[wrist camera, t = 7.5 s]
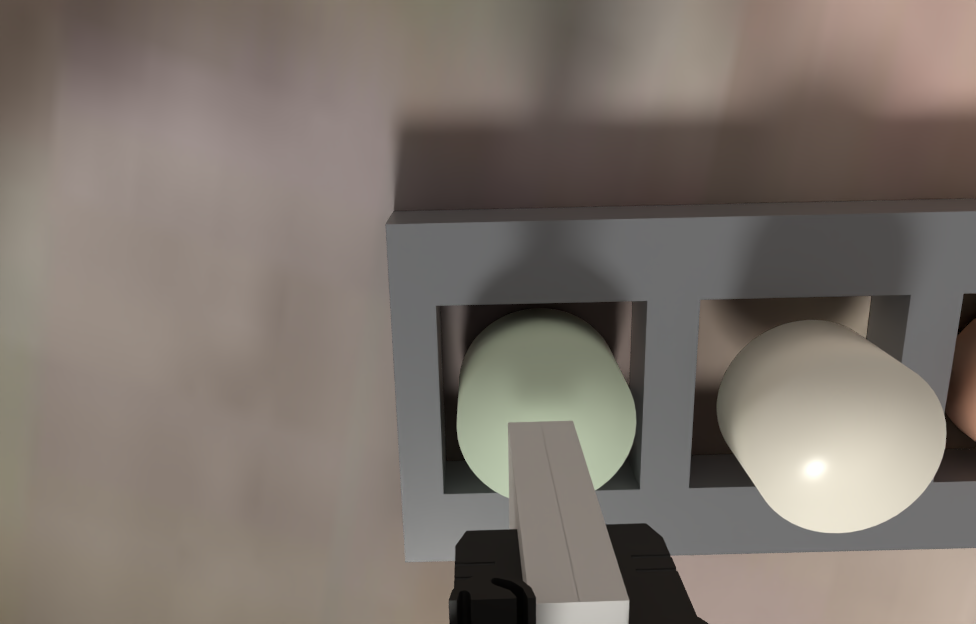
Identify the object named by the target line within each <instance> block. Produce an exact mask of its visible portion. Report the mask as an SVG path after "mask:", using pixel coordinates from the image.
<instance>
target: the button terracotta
mask: <svg viewBox="0 0 976 624" xmlns="http://www.w3.org/2000/svg"><path fill="white" fill-rule="evenodd" d="M945 411H946V413H947V415H948V417H949V418H950V420H951V421H952V422H953V423H954V424H955V426H957V427H958V428H959V429H960V430H961V431H962V432H964V433H965V434H966V435H968V436H969V437H970V438H972V439H973V440H974V441H976V318H975V319H974V320H973V321H972V322H971V323H969V324H968V325H967V326H966V327H965V328H964V329H963V330H962V332H961V333H960V334H959V335H958V336H957V338H956V344H955V350H954V357H953V363H952V369H951V375H950V381H949V388H948V394H947V400H946V406H945Z"/></svg>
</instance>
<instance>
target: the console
mask: <svg viewBox="0 0 976 624" xmlns="http://www.w3.org/2000/svg"><path fill="white" fill-rule="evenodd" d="M386 241H387V258H388V275H389V292H390V309H391V326H392V343H393V360H394V377H395V394H396V411H397V428H398V445H399V462H400V479H401V496H402V513H403V531H404V548H405V562H432V561H455V546H456V544H457V543H458V542H459V540H460V539H461V537H462V536H463V535H464V533H465V532H466V531H472V530H504V529H510V528H509V498H507V497H505V496H502V495H501V494H499V493H497V492H495V491H494V490H492V489H491V488H489V487H488V486H487V485H485V484H484V483H483V482H482V481H481V480H480V479H479V478H478V477H477V476H476V475H475V474H474V472H473V471H472V470H471V468H470V467H469V465H468V464H467V462H466V461H446V442H445V416H444V391H443V366H442V341H441V315H440V306H446V305H489V304H533V303H576V302H620V301H632V330H631V359H630V388H629V389H630V391H631V394H632V397H633V400H634V404H635V410H636V430H635V436H634V440H633V444H632V447H631V449H630V452H629V454H628V456H627V458H626V459H625V461H624V463H623V465H622V466H621V467H620V468H619V470H618V471H617V472H616V473H615V475H614V476H613V477H612V478H611V479H610V480H609V481H607V482H606V483H605V484H604V485H602V486H601V487H600V488H598V489H597V490H595V493H596V496H597V499H598V502H599V505H600V509H601V512H602V515H603V518H604V521H605V524H634V523H647V524H648V525H649V526H650V527H651V528H652V529H654V530H655V531H656V532H657V533H658V534H659V535H661V536H662V537H663V539H664V541H665V543H666V546H667V548H668V550H669V553H670V556H671V555H711V554H751V553H791V552H831V551H871V550H911V549H951V548H976V448H971V449H945V450H944V454H943V458H942V460H941V463H940V466H939V468H938V470H937V472H936V474H935V476H934V478H933V479H932V481H931V482H930V484H929V485H928V487H927V488H926V489H925V491H924V492H923V493H922V494H921V495H920V496H919V497H918V498H917V499H916V500H915V501H914V502H913V503H912V504H911V505H910V506H909V507H907V508H906V509H905V510H903V511H902V512H900V513H899V514H898V515H896V516H894V517H892V518H891V519H889V520H887V521H885V522H883V523H881V524H878V525H876V526H873V527H870V528H867V529H864V530H859V531H854V532H847V533H823V532H817V531H812V530H808V529H805V528H802V527H799V526H797V525H795V524H792V523H791V522H789V521H787V520H786V519H784V518H782V517H781V516H780V515H779V514H778V513H776V512H775V511H774V510H773V509H772V508H771V507H770V506H769V505H768V504H767V502H766V501H765V500H764V498H763V497H762V495H761V494H760V492H759V491H758V489H757V488H756V486H755V485H754V483H753V482H752V480H751V479H750V477H749V476H748V474H747V473H746V471H745V470H744V468H743V467H742V465H741V464H740V462H739V461H738V460H737V458H736V457H735V455H734V454H723V455H691V445H692V428H693V412H694V395H695V379H696V362H697V346H698V329H699V313H700V300H707V299H750V298H794V297H837V296H872V300H871V308H870V316H869V324H868V332H867V340H868V341H870V342H871V343H873V344H874V345H876V346H877V347H879V348H880V349H881V350H883V351H884V352H886V353H887V354H889V355H890V356H892V357H893V358H895V359H896V360H898V361H899V362H901V363H902V364H903V365H905V366H906V367H908V368H909V369H911V370H912V371H914V372H915V373H917V374H918V375H919V376H920V377H921V378H923V379H924V380H925V381H926V382H927V383H928V384H929V386H930V387H931V388H932V389H933V391H934V392H935V394H936V396H937V397H938V399H939V401H940V404H941V406H942V409H943V411H944V412H945V406H946V400H947V394H948V388H949V381H950V375H951V369H952V363H953V357H954V350H955V344H956V338H957V332H958V326H959V319H960V313H961V307H962V301H963V295H964V294H967V293H976V198H970V199H925V200H880V201H835V202H790V203H745V204H700V205H656V206H611V207H566V208H521V209H476V210H431V211H393V213H392V215H391V216H390V218H389V220H388V221H387V223H386Z"/></svg>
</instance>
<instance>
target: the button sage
mask: <svg viewBox="0 0 976 624" xmlns="http://www.w3.org/2000/svg"><path fill="white" fill-rule="evenodd" d="M542 421H573V423H574V426H575V429H576V432H577V435H578V438H579V442H580V445H581V448H582V451H583V454H584V458H585V461H586V464H587V467H588V470H589V474H590V477H591V480H592V483H593V486H594V489H595V490H597V489H598V488H600V487H601V486H602V485H604V484H605V483H606V482H607V481H609V480H610V479H611V478H612V477H613V476H614V475H615V473H616V472H617V471H618V470H619V468H620V467H621V466H622V465H623V463H624V461H625V459H626V458H627V456H628V454H629V452H630V449H631V447H632V444H633V440H634V436H635V430H636V410H635V404H634V400H633V397H632V394H631V391H630V389H629V387H628V385H627V383H626V381H625V379H624V377H623V375H622V373H621V371H620V368H619V366H618V364H617V362H616V360H615V358H614V356H613V354H612V352H611V350H610V348H609V346H608V344H607V343H606V341H605V340H604V338H603V337H602V336H601V335H600V334H599V333H598V332H597V330H596V329H594V328H593V327H592V326H591V325H590V324H588V323H587V322H585V321H584V320H582V319H581V318H579V317H577V316H575V315H572V314H570V313H567V312H564V311H561V310H555V309H550V308H532V309H525V310H520V311H516V312H513V313H510V314H508V315H505V316H503V317H501V318H499V319H497V320H496V321H494V322H493V323H491V324H490V325H489V326H487V327H486V328H485V329H484V330H483V331H482V332H481V333H480V334H479V335H478V336H477V337H476V338H475V339H474V341H473V342H472V344H471V345H470V347H469V348H468V351H467V353H466V355H465V357H464V359H463V363H462V366H461V370H460V376H459V392H458V408H457V436H458V441H459V445H460V449H461V451H462V454H463V456H464V458H465V460H466V462H467V464H468V465H469V467H470V468H471V470H472V471H473V472H474V474H475V475H476V476H477V477H478V478H479V479H480V480H481V481H482V482H483V483H484V484H485V485H487V486H488V487H489V488H491V489H492V490H494V491H495V492H497V493H499V494H501V495H502V496H505V497H507V498H509V465H508V422H542Z"/></svg>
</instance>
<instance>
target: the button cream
mask: <svg viewBox="0 0 976 624" xmlns="http://www.w3.org/2000/svg"><path fill="white" fill-rule="evenodd" d="M717 418H718V424H719V427H720V431H721V433H722V435H723V438H724V440H725V442H726V443H727V445H728V446H729V448H730V449H731V451H732V452H733V454H734V455H735V457H736V458H737V460H738V461H739V462H740V464H741V465H742V467H743V468H744V470H745V471H746V473H747V474H748V476H749V477H750V479H751V480H752V482H753V483H754V485H755V486H756V488H757V489H758V491H759V492H760V494H761V495H762V497H763V498H764V500H765V501H766V502H767V504H768V505H769V506H770V507H771V508H772V509H773V510H774V511H775V512H776V513H778V514H779V515H780V516H781V517H782V518H784V519H786V520H787V521H789V522H791V523H792V524H795V525H797V526H799V527H802V528H805V529H808V530H812V531H817V532H823V533H847V532H854V531H859V530H864V529H867V528H870V527H873V526H876V525H878V524H881V523H883V522H885V521H887V520H889V519H891V518H892V517H894V516H896V515H898V514H899V513H900V512H902V511H903V510H905V509H906V508H907V507H909V506H910V505H911V504H912V503H913V502H914V501H915V500H916V499H917V498H918V497H919V496H920V495H921V494H922V493H923V492H924V491H925V489H926V488H927V487H928V485H929V484H930V482H931V481H932V479H933V478H934V476H935V474H936V472H937V470H938V468H939V466H940V463H941V460H942V458H943V454H944V450H945V445H946V421H945V416H944V411H943V409H942V406H941V404H940V401H939V399H938V397H937V396H936V394H935V392H934V391H933V389H932V388H931V387H930V386H929V384H928V383H927V382H926V381H925V380H924V379H923V378H921V377H920V376H919V375H918V374H917V373H915V372H914V371H912V370H911V369H909V368H908V367H906V366H905V365H903V364H902V363H901V362H899V361H898V360H896V359H895V358H893V357H892V356H890V355H889V354H887V353H886V352H884V351H883V350H881V349H880V348H879V347H877V346H876V345H874V344H873V343H871V342H870V341H868V340H867V339H865V338H864V337H862V336H861V335H859V334H858V333H856V332H855V331H853V330H852V329H849V328H847V327H845V326H843V325H840V324H837V323H834V322H829V321H823V320H801V321H795V322H790V323H786V324H783V325H780V326H777V327H775V328H772V329H770V330H768V331H766V332H764V333H763V334H761V335H760V336H758V337H756V338H755V339H754V340H752V341H751V342H750V343H749V344H747V345H746V346H745V347H744V348H743V349H742V350H741V351H740V352H739V353H738V354H737V356H736V357H735V358H734V360H733V361H732V362H731V364H730V365H729V367H728V369H727V370H726V372H725V374H724V377H723V379H722V381H721V384H720V388H719V392H718V398H717Z"/></svg>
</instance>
